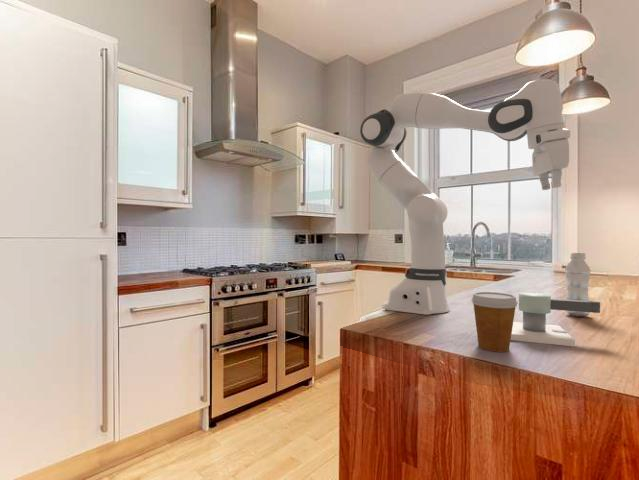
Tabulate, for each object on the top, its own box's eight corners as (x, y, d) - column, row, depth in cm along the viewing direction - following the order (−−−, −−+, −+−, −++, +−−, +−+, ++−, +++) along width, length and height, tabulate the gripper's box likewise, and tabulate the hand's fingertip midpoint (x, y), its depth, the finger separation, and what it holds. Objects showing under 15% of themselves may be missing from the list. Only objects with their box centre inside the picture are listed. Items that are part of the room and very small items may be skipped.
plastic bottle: (595, 318, 107) (596, 253, 107) (570, 317, 109) (571, 253, 108) (583, 314, 114) (584, 252, 113) (560, 313, 115) (561, 252, 115)
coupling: (520, 312, 88) (521, 296, 88) (516, 307, 94) (516, 292, 94) (605, 318, 81) (605, 301, 81) (594, 312, 88) (594, 296, 88)
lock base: (506, 339, 86) (506, 315, 86) (500, 325, 99) (500, 304, 99) (575, 346, 81) (575, 320, 81) (559, 331, 94) (559, 308, 94)
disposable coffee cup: (477, 338, 87) (477, 290, 86) (521, 346, 81) (521, 294, 80) (465, 348, 79) (465, 295, 79) (512, 357, 73) (513, 300, 73)
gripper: (524, 147, 108) (529, 192, 109) (543, 133, 89) (548, 188, 89) (548, 143, 106) (552, 189, 107) (572, 128, 87) (577, 184, 87)
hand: (551, 188), depth 98 cm, fingers open, 8 cm apart
